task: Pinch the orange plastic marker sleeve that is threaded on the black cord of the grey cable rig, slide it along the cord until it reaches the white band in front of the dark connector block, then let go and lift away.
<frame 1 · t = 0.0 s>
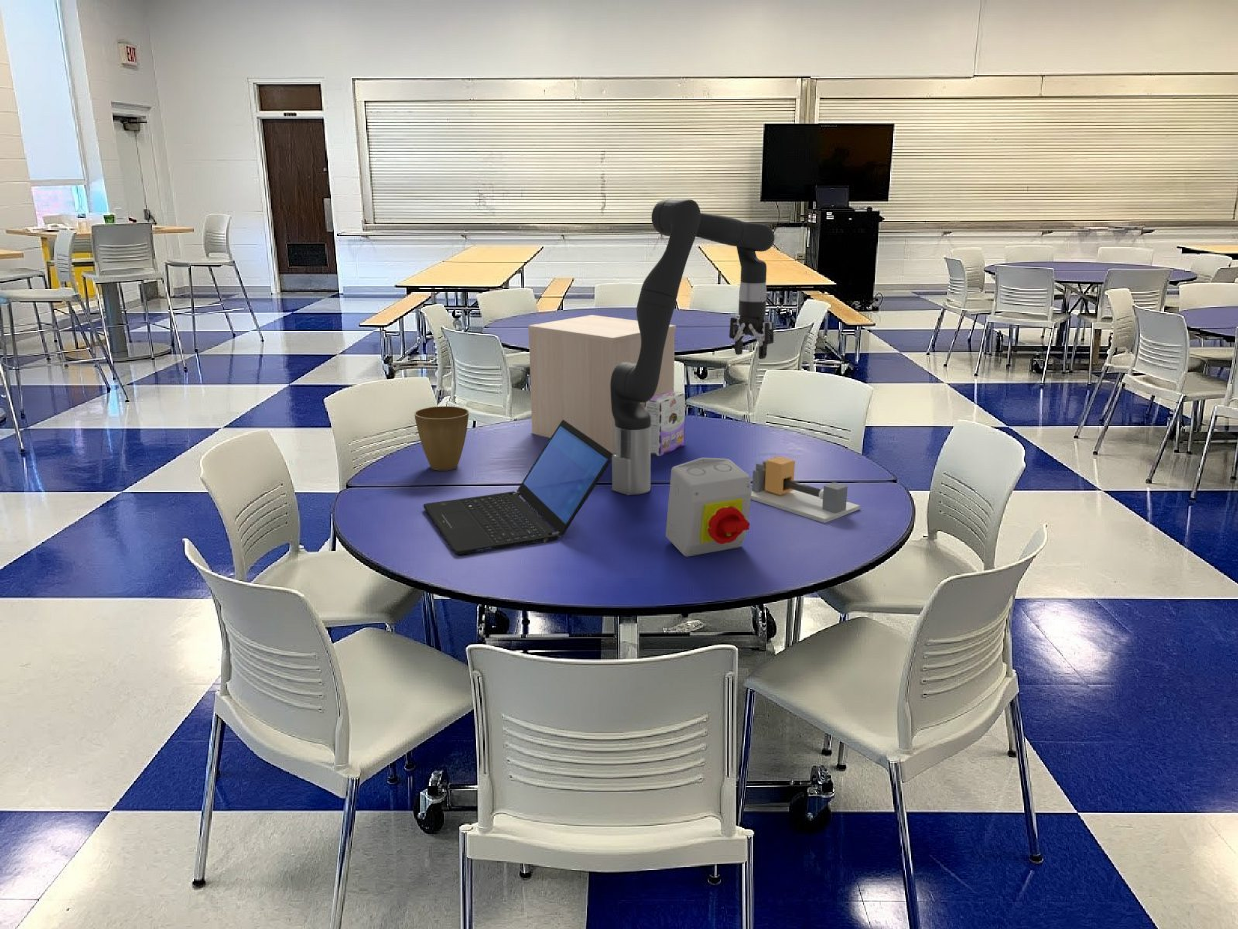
hand: (750, 356, 266), 29 cm above the table, tool pointing down, fingers open, 8 cm apart
marker sleeve: (779, 475, 239), point 6 cm above the table, slide at 0.0 cm
plant pot: (445, 467, 265), on the table
cord rig: (800, 503, 236), on the table
laptop: (516, 522, 225), on the table
electrical switch box: (711, 551, 207), on the table
cabinet: (602, 434, 299), on the table
candy box: (664, 450, 281), on the table
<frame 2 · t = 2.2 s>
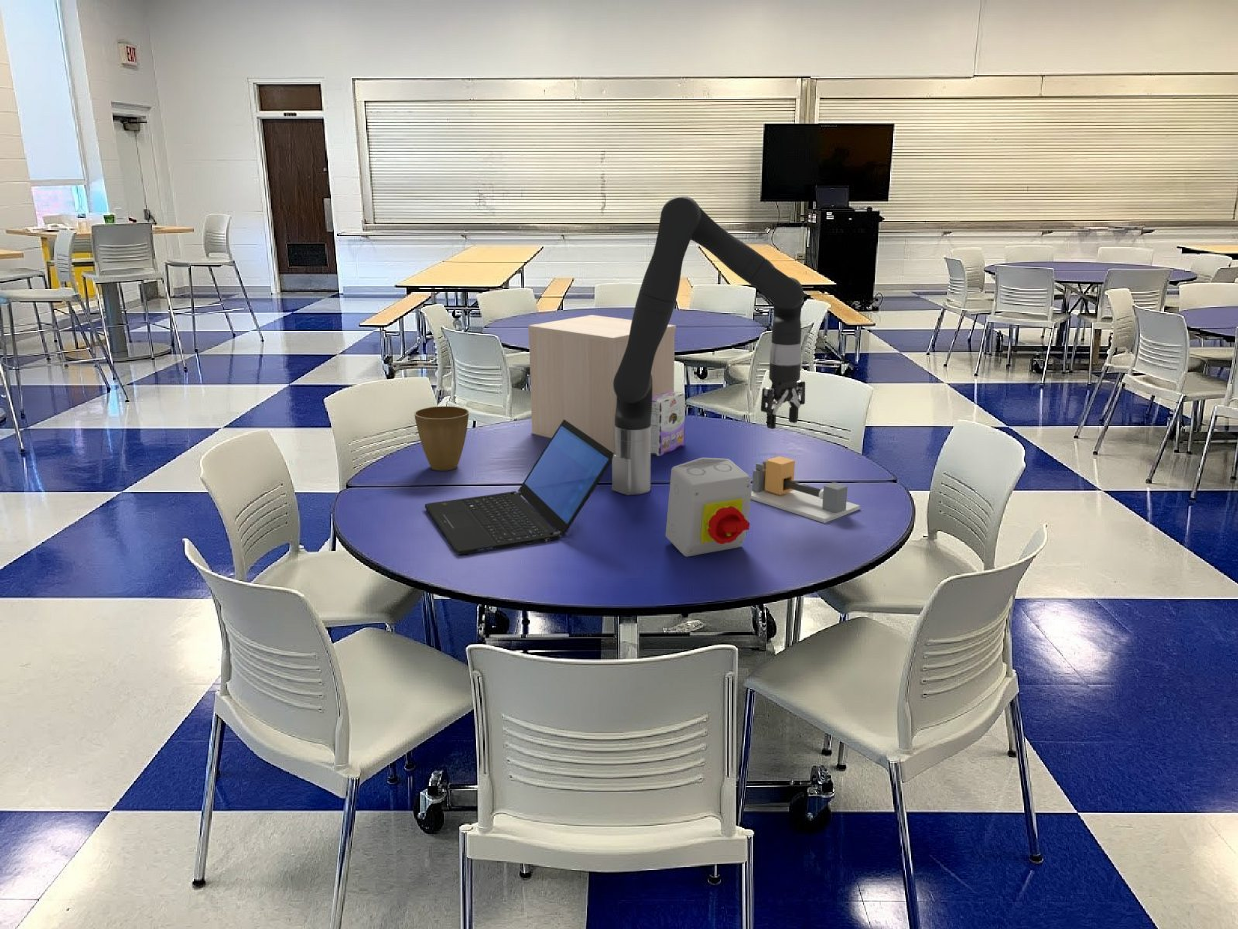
hand: (782, 425, 235), 19 cm above the table, tool pointing down, fingers open, 8 cm apart
nothing on the table moved.
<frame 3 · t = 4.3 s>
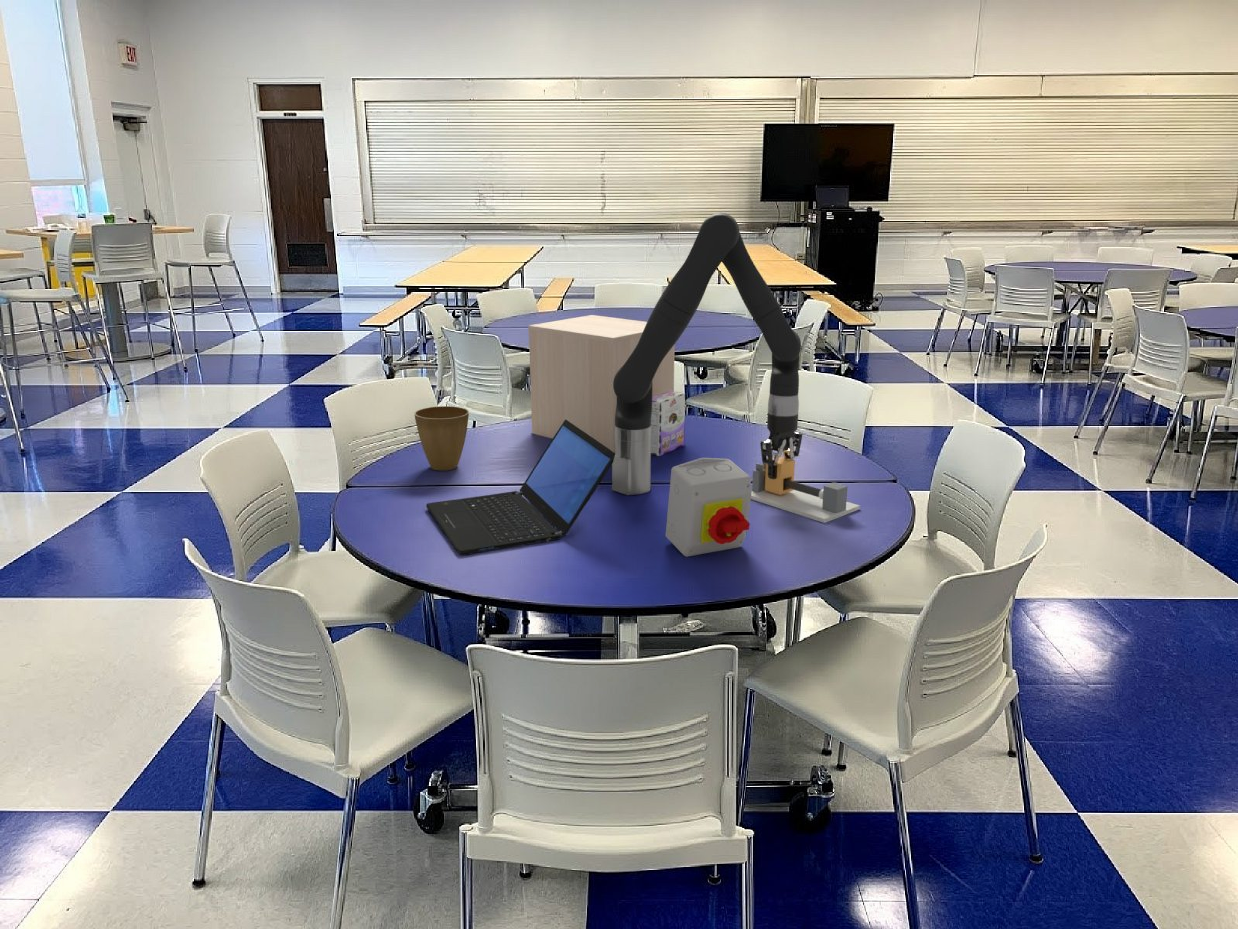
hand: (779, 475, 239), 5 cm above the table, tool pointing down, fingers closed on marker sleeve, 5 cm apart
marker sleeve: (779, 475, 239), point 6 cm above the table, slide at 0.0 cm, touching gripper
everything else where it was.
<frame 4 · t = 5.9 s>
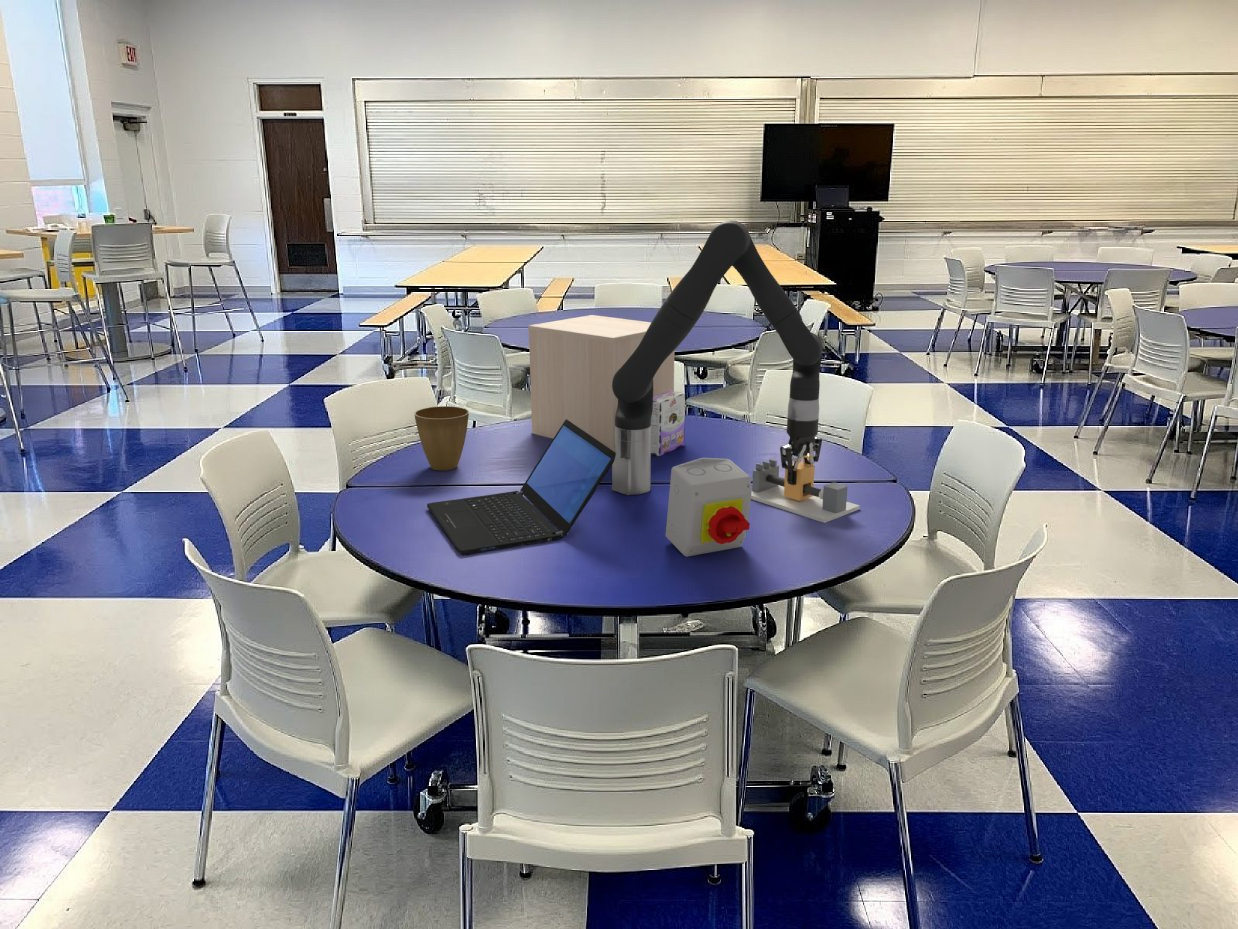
hand: (799, 481, 235), 5 cm above the table, tool pointing down, fingers closed on marker sleeve, 5 cm apart
marker sleeve: (799, 481, 234), point 6 cm above the table, slide at 6.2 cm, touching gripper
everything else where it was.
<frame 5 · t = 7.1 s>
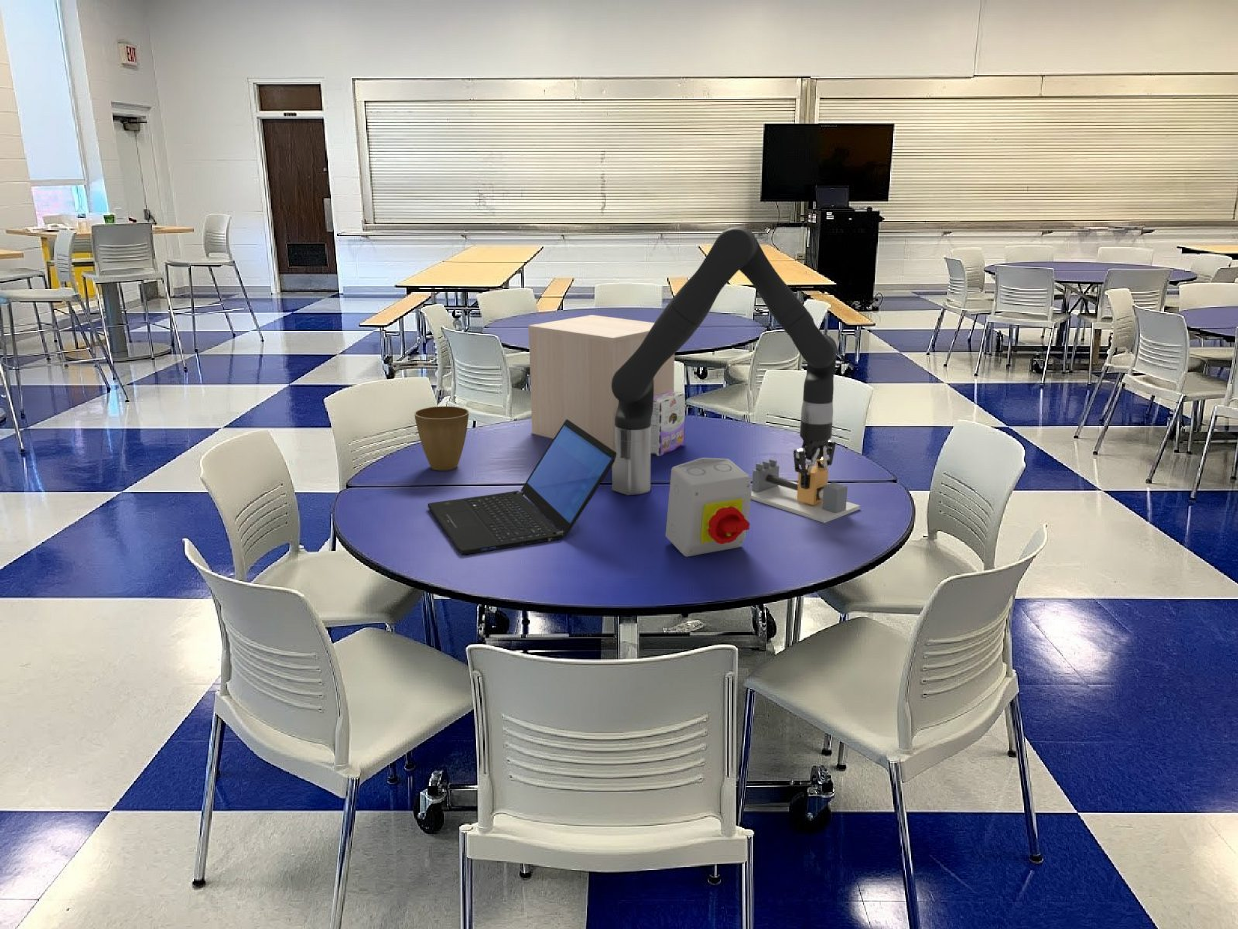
hand: (812, 485, 232), 5 cm above the table, tool pointing down, fingers closed on marker sleeve, 5 cm apart
marker sleeve: (812, 484, 232), point 6 cm above the table, slide at 10.3 cm, touching gripper
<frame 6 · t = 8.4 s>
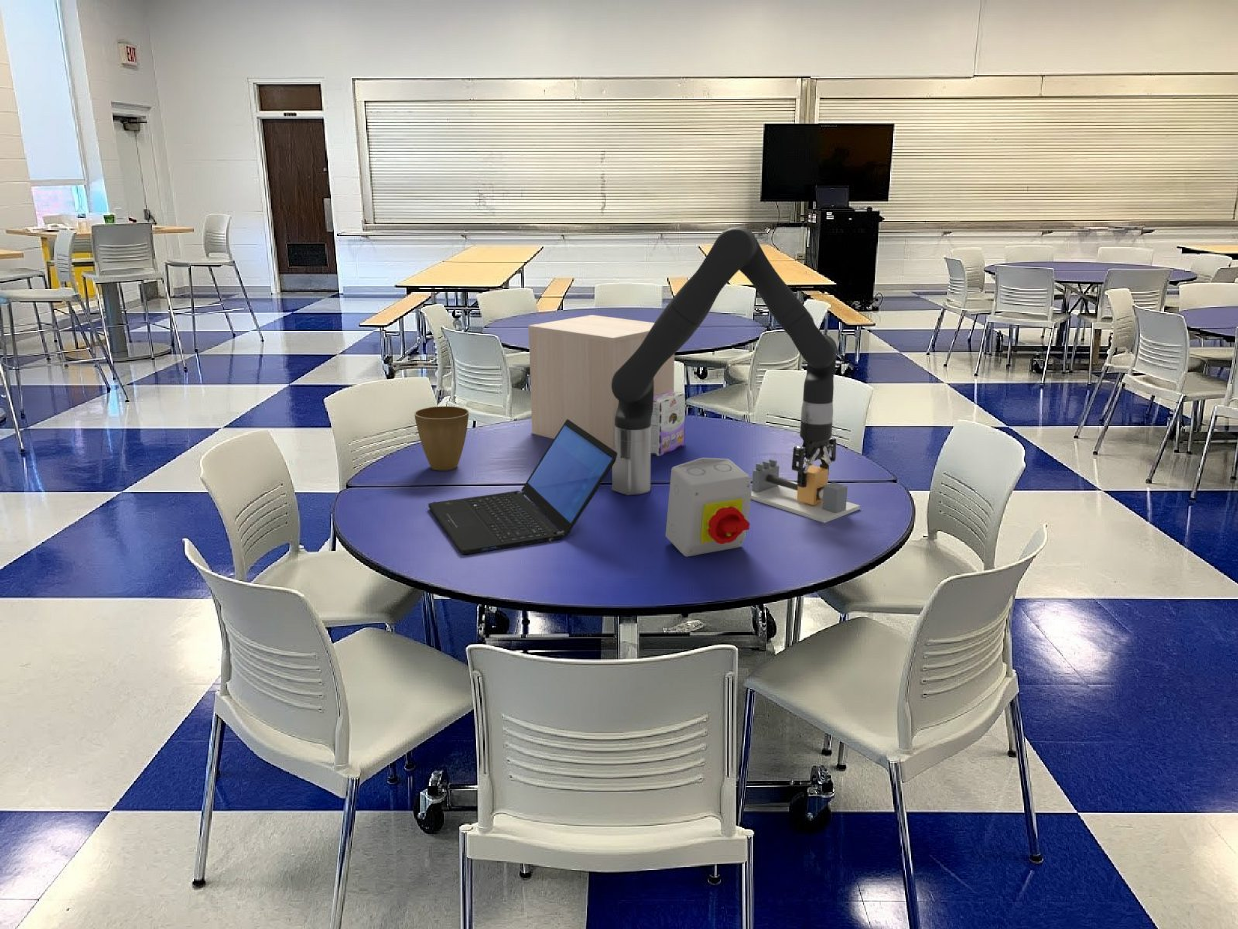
hand: (812, 483, 231), 6 cm above the table, tool pointing down, fingers open, 8 cm apart
marker sleeve: (812, 484, 232), point 6 cm above the table, slide at 10.3 cm
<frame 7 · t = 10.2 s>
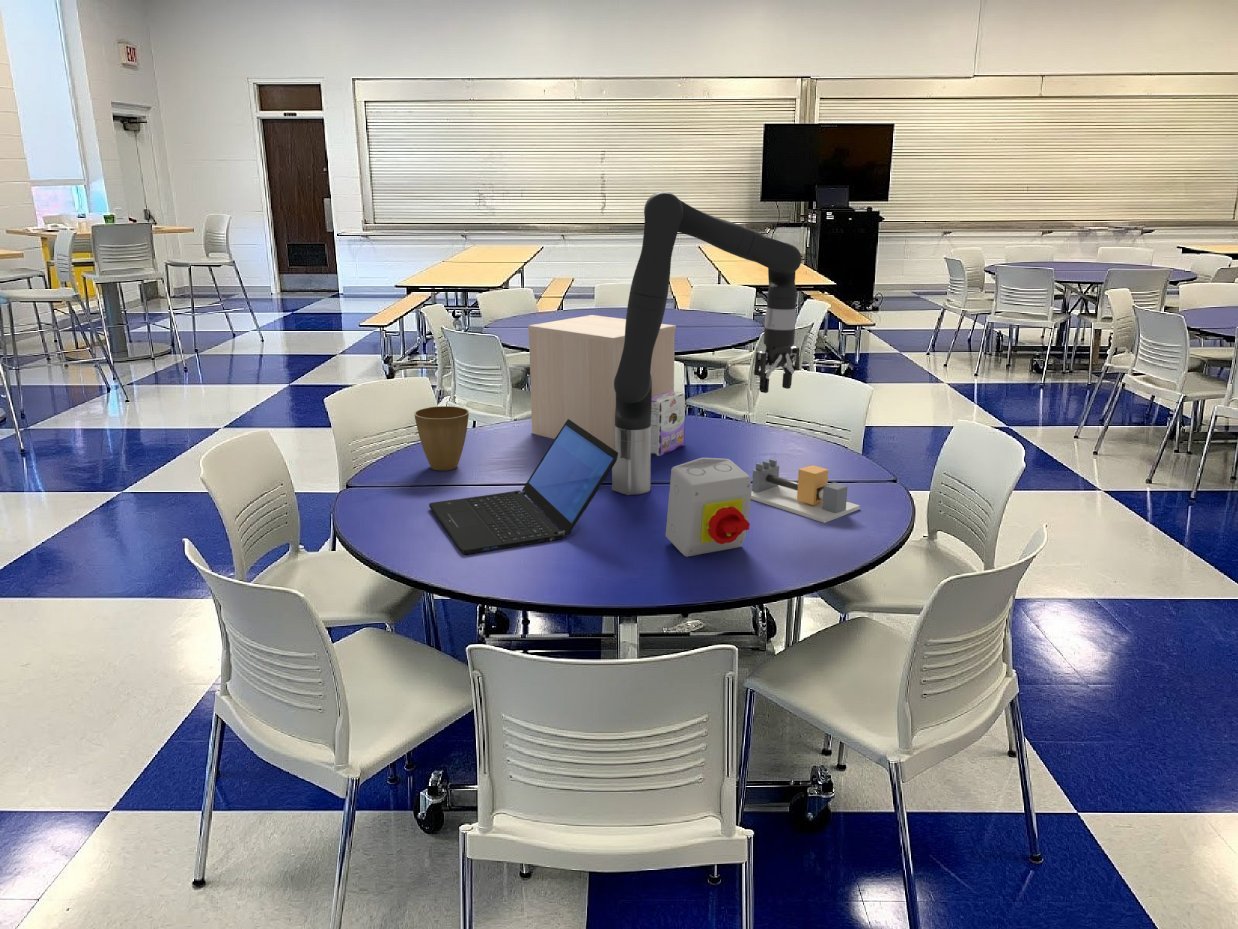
hand: (775, 390, 238), 27 cm above the table, tool pointing down, fingers open, 8 cm apart
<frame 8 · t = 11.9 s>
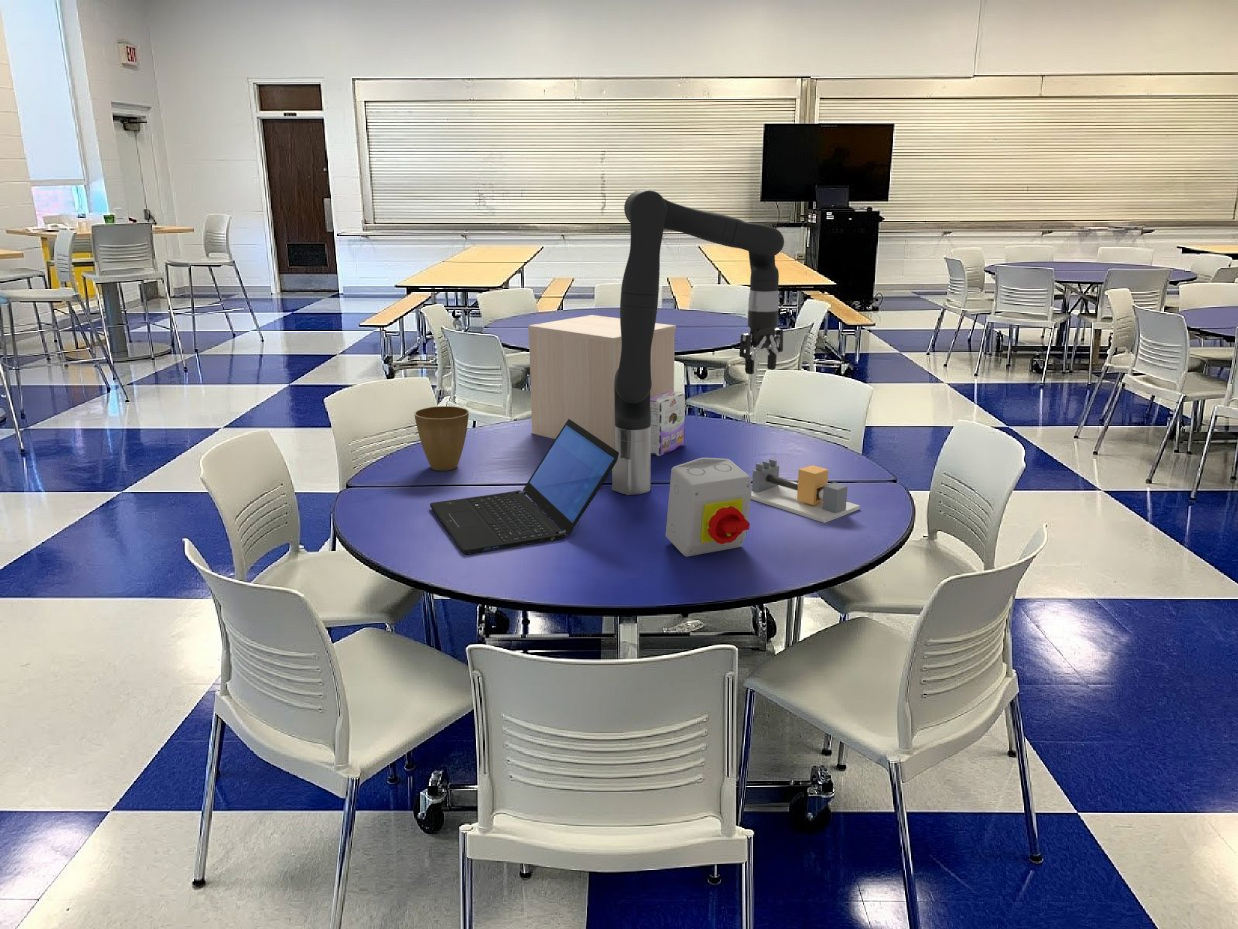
hand: (760, 371, 242), 30 cm above the table, tool pointing down, fingers open, 8 cm apart
at the end: marker sleeve slide at 10.3 cm; the gripper is holding nothing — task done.
